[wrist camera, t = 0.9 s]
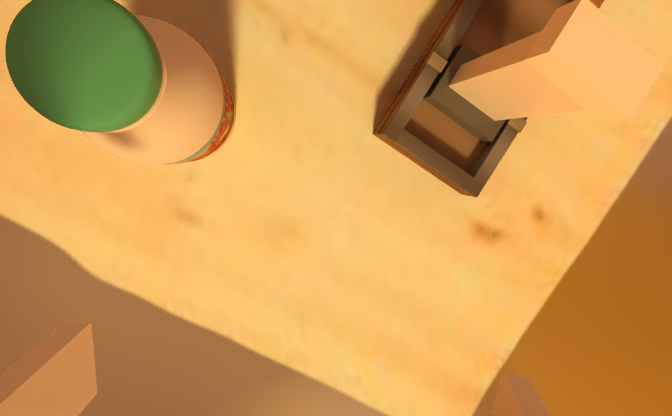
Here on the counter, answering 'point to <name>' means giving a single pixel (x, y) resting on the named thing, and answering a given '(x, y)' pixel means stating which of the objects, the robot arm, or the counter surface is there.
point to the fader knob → (547, 74)
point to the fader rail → (434, 126)
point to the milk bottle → (120, 80)
